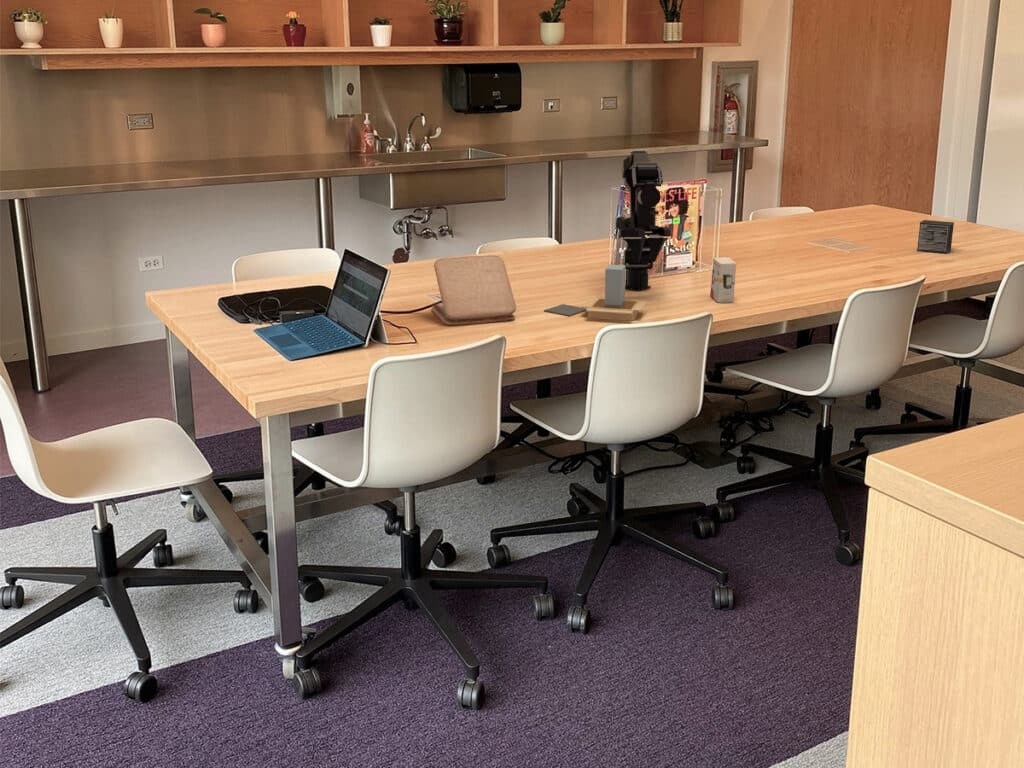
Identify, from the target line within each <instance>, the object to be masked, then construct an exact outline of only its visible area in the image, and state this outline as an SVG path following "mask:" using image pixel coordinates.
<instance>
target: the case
mask: <svg viewBox="0 0 1024 768" xmlns="http://www.w3.org/2000/svg"><path fill="white" fill-rule="evenodd" d="M433 267H434V272H435V276H436V281H437V286H438V290H439V294H440V299H441V303H436V304H434V305H433V306H431V311H432V312H433V313H434V314H435V316H437V317H438V318H439V320H441V322H442V323H443V324H444V325H446V326H462V325H473V324H475V325H478V324H488V323H500V322H510V321H514V320H515V319H516V315H515V314H514V313H515V312H516V311H517V305H516V301H515V297H514V294H513V291H512V288H511V287H512V285H511V284H510V280H509V275H508V272H507V269H506V268H507V267H506V265H505V261H504V259H503V258H502V257H500V256H499V255H491V254H489V255H473V256H472V255H471V256H470V255H469V256H468V255H467V256H458V257H443V258H442V257H441V258H439V259H436V260H435V261H434V264H433Z"/></svg>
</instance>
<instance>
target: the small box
mask: <svg viewBox="0 0 1024 768" xmlns="http://www.w3.org/2000/svg"><path fill="white" fill-rule="evenodd" d="M954 224H955V222H953V221H942V220H928V219H923V220H921V221H920V222H919V229H918V230H919V231H918V239H917V248H916V252H920V253H921V252H923V253H934V254H945V255H948V254H949V253H950V252H951V251H952V243H953V235H954Z"/></svg>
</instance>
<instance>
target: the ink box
mask: <svg viewBox="0 0 1024 768" xmlns="http://www.w3.org/2000/svg"><path fill="white" fill-rule="evenodd" d="M712 258H713V259H712V260H713V261H712V270H711V271H712V272H711V283H710V292H709V293H710V294H709V296H710V297H711V298H712V299H714V300H715V301H716V302H717V303H723V304H724V303H732V304H733V303H734V300H735V286H736V271H737V262H735V261H734V259H732V258H730V257H724V256H723V257H712Z"/></svg>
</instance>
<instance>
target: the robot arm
mask: <svg viewBox="0 0 1024 768" xmlns="http://www.w3.org/2000/svg"><path fill="white" fill-rule="evenodd" d="M621 178H622V179H623V185H624V187H625V189H626V190H627V191H628V193H629V195H628V197H629V217H627V218H625V217H624V216H618V217H616V218H615V219H616V220H615V229H618V231H619V238H622V240H623V241H624V242H626V246H625V249H624V250H623V255H622V256H623V257H622V265H626V273H625V289H628V290H631V291H641V290H642V291H643V290H646V289H650V288H651V287H652V286H651V285H649V274H648V272H649V270H652V269H653V268H654V263H655V262H656V261H657V259H658V257H659V254H660V253H661V250H662V248H663V247H664V245H665V243H666V241H667V240H668V237H671V229H670V228H669V227H668V226H659V225H656V224H657V222H656V221H657V219H656V217H657V216H656V215H659V211H658V210H657V209H656V207H657V205H658V204H659V203H660V201H661V198H662V197H661V196H662V194H661V193H660V190H659V189H658V188H657V187H662V185H663V183H664V177H663V172H662V170H661V167H660V166H658V163H657V162H655V161H653V162H652V161H651V160H650V159H649V157H648V151H646V150H632V151H630V153H629V155H628V156H627V157H626V158H625V159H624V160H623V161H622V166H621Z"/></svg>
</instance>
